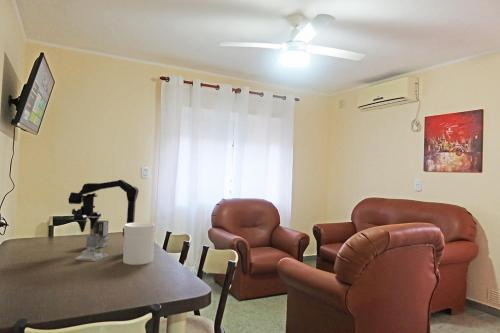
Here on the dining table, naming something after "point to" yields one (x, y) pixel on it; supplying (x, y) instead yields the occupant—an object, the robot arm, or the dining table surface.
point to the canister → (138, 243)
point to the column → (92, 241)
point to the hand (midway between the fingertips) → (87, 230)
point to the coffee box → (101, 232)
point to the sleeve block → (91, 255)
